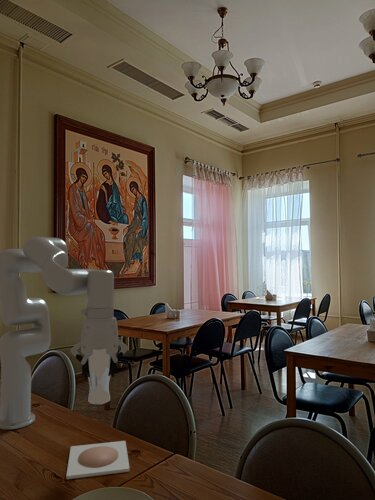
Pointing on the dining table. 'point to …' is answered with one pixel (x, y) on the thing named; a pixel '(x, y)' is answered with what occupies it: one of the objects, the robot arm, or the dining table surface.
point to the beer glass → (99, 376)
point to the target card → (97, 459)
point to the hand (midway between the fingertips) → (99, 376)
